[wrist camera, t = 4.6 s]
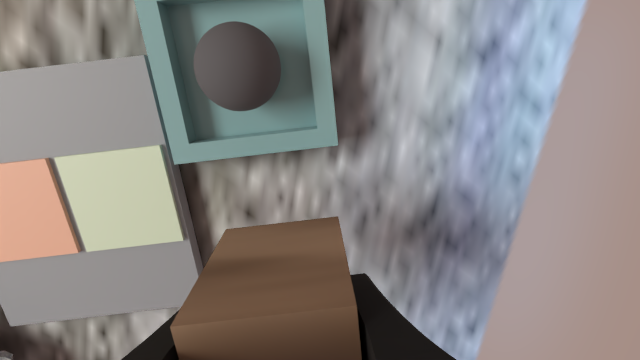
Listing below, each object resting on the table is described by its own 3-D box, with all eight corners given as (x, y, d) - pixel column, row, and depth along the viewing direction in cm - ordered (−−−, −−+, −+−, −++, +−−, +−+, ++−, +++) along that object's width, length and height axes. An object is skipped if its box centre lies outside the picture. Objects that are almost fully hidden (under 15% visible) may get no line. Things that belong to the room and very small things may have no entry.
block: (347, 311, 13) (369, 444, 8) (245, 323, 13) (208, 463, 8) (338, 216, 12) (356, 305, 7) (226, 229, 12) (170, 327, 7)
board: (209, 293, 18) (203, 306, 17) (23, 315, 18) (7, 329, 17) (152, 56, 15) (141, 54, 14) (-79, 83, 15) (-106, 83, 14)
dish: (335, 138, 16) (338, 145, 14) (187, 156, 16) (174, 164, 14) (318, -30, 14) (319, -43, 12) (149, -10, 14) (129, -21, 12)
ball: (288, 103, 15) (283, 109, 12) (216, 112, 15) (191, 120, 12) (277, 24, 14) (269, 7, 11) (200, 33, 14) (169, 19, 11)
